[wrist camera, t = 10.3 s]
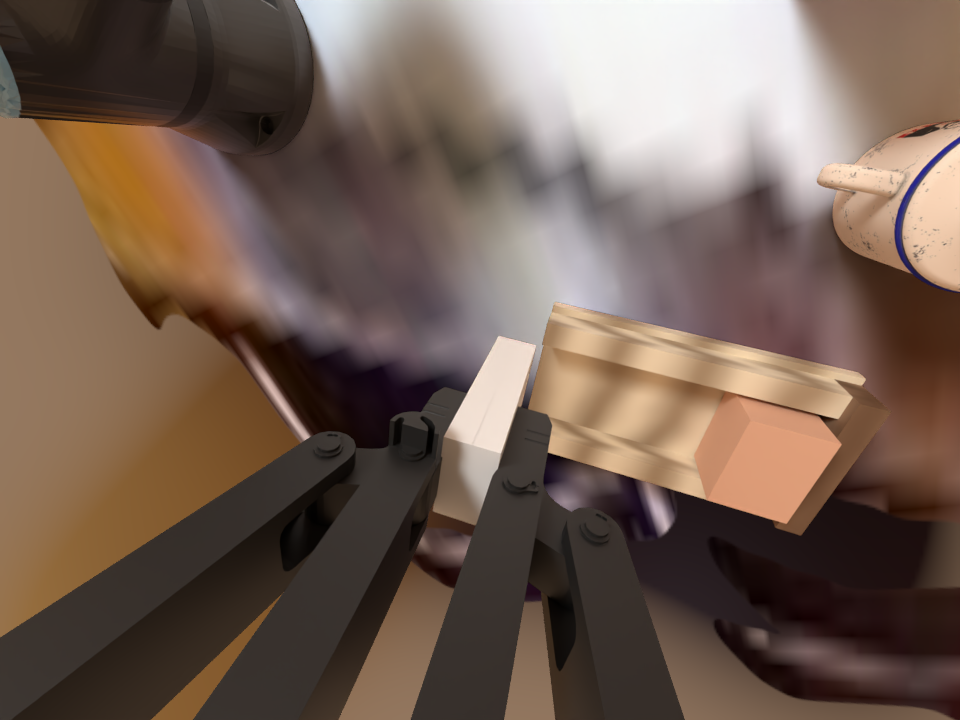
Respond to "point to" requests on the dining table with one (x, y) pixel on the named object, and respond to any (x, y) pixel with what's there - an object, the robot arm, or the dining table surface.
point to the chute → (681, 399)
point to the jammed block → (762, 456)
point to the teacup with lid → (904, 203)
